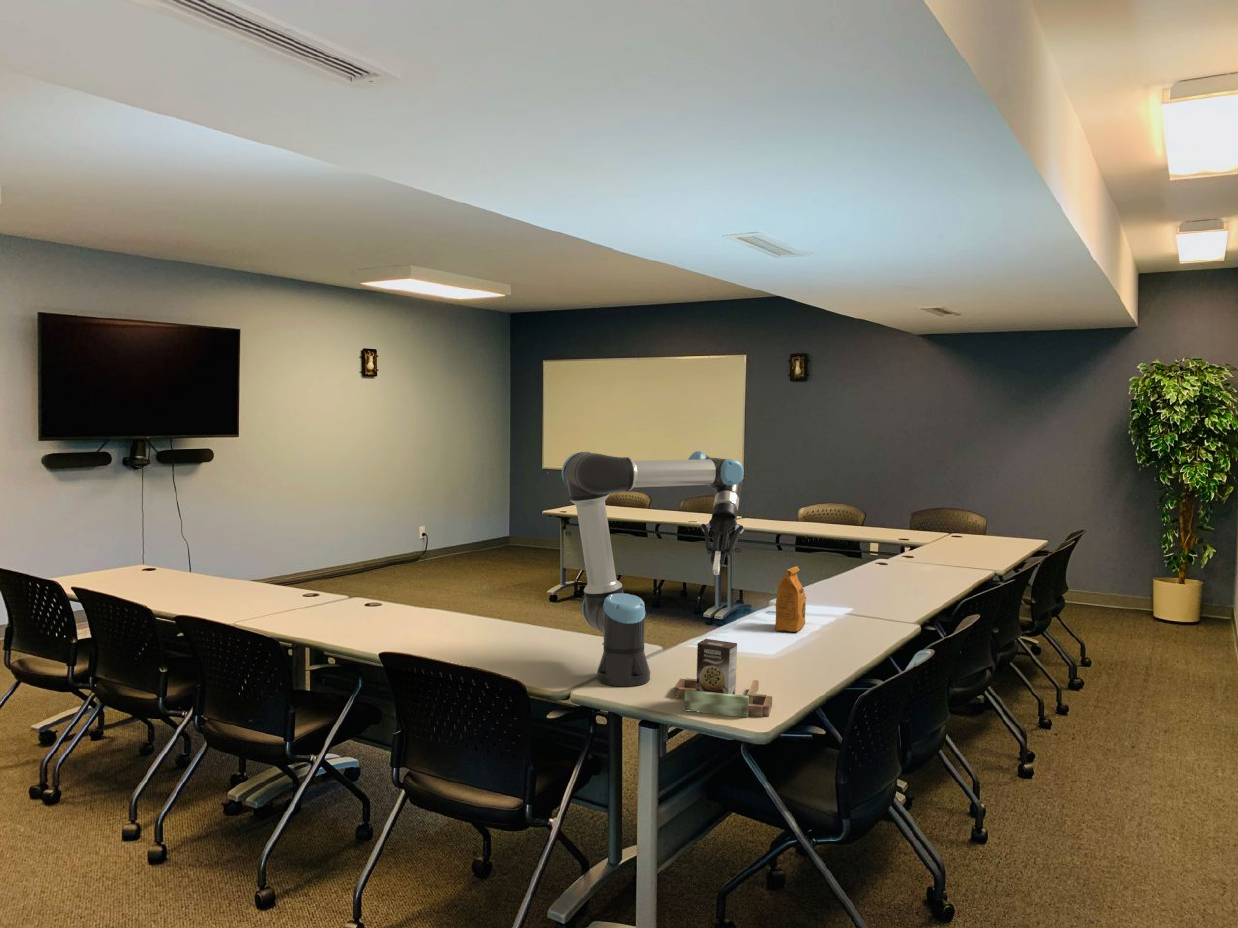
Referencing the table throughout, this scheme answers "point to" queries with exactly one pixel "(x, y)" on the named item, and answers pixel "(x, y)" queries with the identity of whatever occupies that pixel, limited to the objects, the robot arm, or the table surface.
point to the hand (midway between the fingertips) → (715, 572)
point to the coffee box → (716, 666)
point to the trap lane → (723, 700)
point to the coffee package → (790, 603)
